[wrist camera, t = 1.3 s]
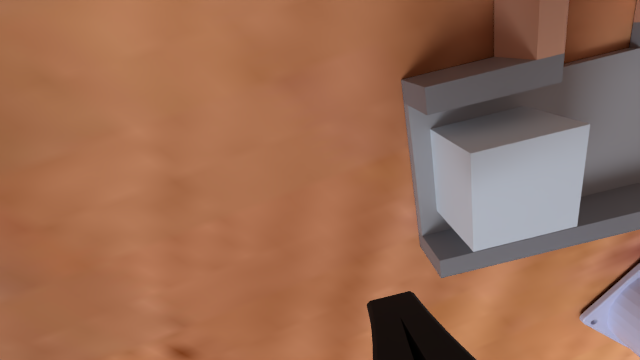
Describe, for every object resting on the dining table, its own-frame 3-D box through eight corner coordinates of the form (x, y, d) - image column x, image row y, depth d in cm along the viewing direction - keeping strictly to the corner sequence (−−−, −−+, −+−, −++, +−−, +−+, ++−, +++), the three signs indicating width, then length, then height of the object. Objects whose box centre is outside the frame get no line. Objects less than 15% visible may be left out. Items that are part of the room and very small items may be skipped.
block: (523, 106, 17) (590, 124, 13) (520, 190, 19) (577, 226, 15) (430, 128, 17) (470, 153, 13) (436, 210, 19) (473, 251, 15)
